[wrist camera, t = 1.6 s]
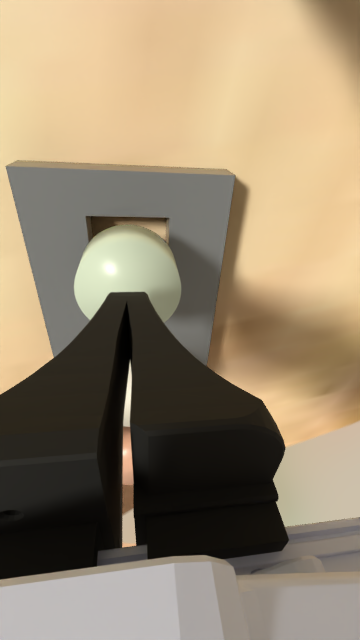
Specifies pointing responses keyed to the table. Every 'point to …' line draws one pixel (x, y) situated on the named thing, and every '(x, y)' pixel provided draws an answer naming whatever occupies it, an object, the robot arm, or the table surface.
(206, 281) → the panel
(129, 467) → the button terracotta
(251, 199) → the table surface
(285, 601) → the robot arm
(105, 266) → the button sage
